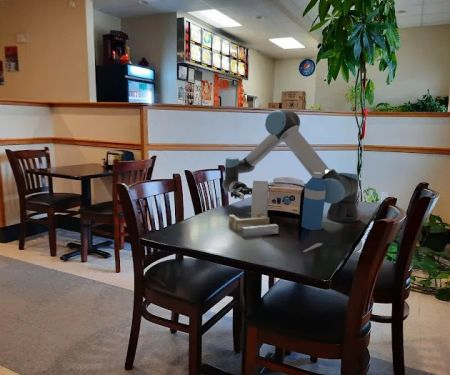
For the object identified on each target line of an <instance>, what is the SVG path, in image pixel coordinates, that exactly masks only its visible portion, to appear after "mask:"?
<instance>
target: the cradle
mask: <svg viewBox="0 0 450 375" xmlns="http://www.w3.org/2000/svg"><path fill="white" fill-rule="evenodd" d="M260 225H270V217H269V216H267V217H266V216H264V215H263V214H261V213H259V212H258V213H255V218H251V217H249V218H247V217H246V218H239V217H238V216H236V215H234V214H229V215H228V226H229V227H230V228H231V229H233V230H234V231H236V232H237V233H242V227H250V226H260Z"/></svg>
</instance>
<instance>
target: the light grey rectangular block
mask: <svg viewBox="0 0 450 375" xmlns="http://www.w3.org/2000/svg"><path fill="white" fill-rule="evenodd" d="M251 188H252V195H251V207H250V208H251V209H250V210H251V212H250V218H255V213H258V212H259V213H261V214H263V215H264V216H266V217H268V206H269V205H268V204H269V198H268V193H269V181H267V180H266V181H265V180H253V181H252V187H251Z"/></svg>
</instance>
